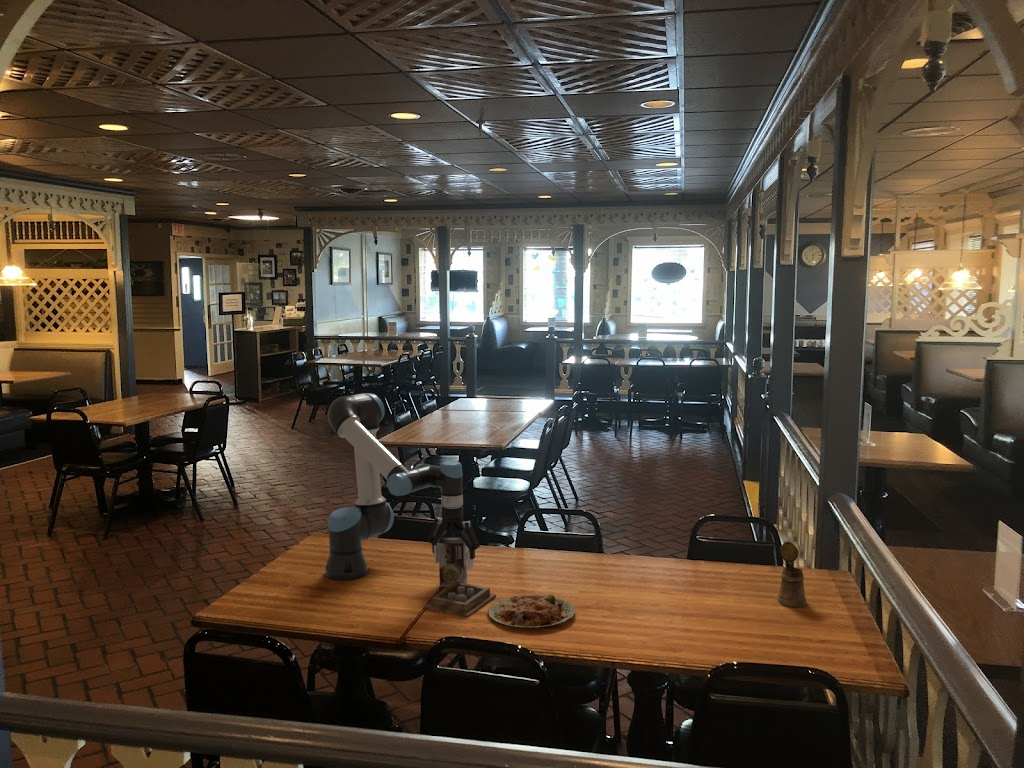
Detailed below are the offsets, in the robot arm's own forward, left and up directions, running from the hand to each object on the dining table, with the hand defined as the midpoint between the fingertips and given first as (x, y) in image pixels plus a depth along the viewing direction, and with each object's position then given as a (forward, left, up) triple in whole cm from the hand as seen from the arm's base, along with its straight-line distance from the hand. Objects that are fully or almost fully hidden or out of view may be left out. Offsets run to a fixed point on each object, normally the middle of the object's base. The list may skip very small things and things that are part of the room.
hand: (453, 565), depth 278 cm
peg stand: (+11, -13, -7) cm, 18 cm away
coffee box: (0, 0, -7) cm, 7 cm away
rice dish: (+36, -11, -8) cm, 38 cm away
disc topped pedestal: (+108, +38, -7) cm, 114 cm away
